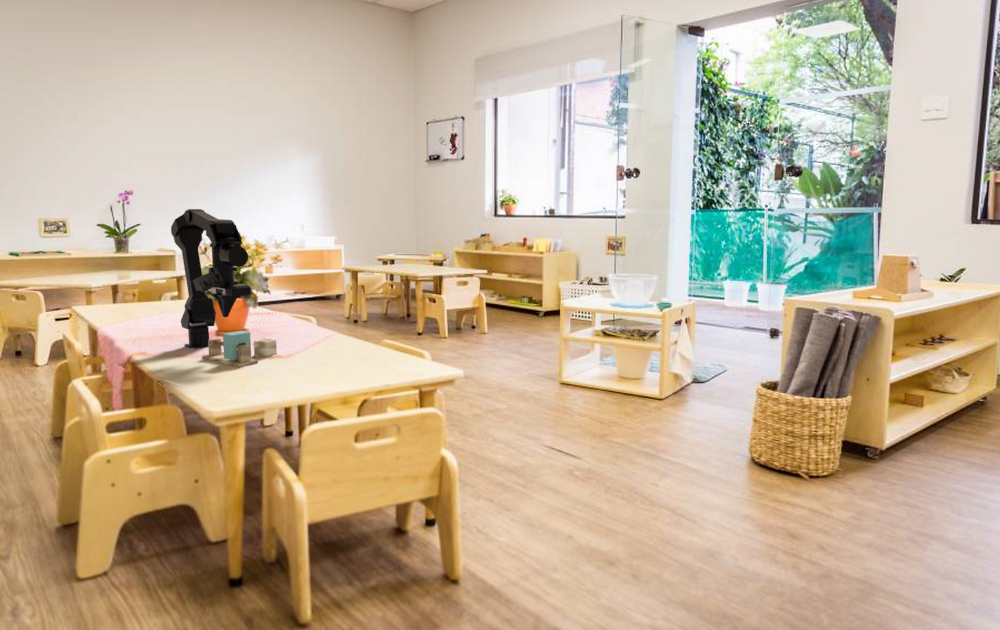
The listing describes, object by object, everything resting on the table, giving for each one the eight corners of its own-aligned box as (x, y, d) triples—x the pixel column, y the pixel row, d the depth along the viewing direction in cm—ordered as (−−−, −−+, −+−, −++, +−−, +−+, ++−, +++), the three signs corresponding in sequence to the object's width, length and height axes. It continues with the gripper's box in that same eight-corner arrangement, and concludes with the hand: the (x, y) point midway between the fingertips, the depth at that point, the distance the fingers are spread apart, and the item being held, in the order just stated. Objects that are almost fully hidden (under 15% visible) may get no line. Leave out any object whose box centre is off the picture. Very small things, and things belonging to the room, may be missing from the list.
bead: (224, 358, 196) (222, 333, 195) (242, 354, 201) (241, 330, 200) (232, 360, 194) (231, 335, 193) (251, 356, 199) (250, 332, 198)
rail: (202, 357, 203) (201, 340, 202) (221, 354, 208) (220, 337, 207) (239, 366, 193) (238, 348, 192) (257, 363, 197) (257, 345, 197)
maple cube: (254, 355, 207) (253, 341, 206) (264, 352, 211) (264, 338, 210) (266, 357, 205) (266, 342, 205) (276, 354, 209) (276, 339, 209)
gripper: (179, 263, 200) (182, 316, 203) (215, 268, 189) (218, 324, 192) (214, 260, 209) (217, 312, 211) (251, 265, 198) (253, 319, 200)
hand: (225, 317), depth 204 cm, fingers closed
